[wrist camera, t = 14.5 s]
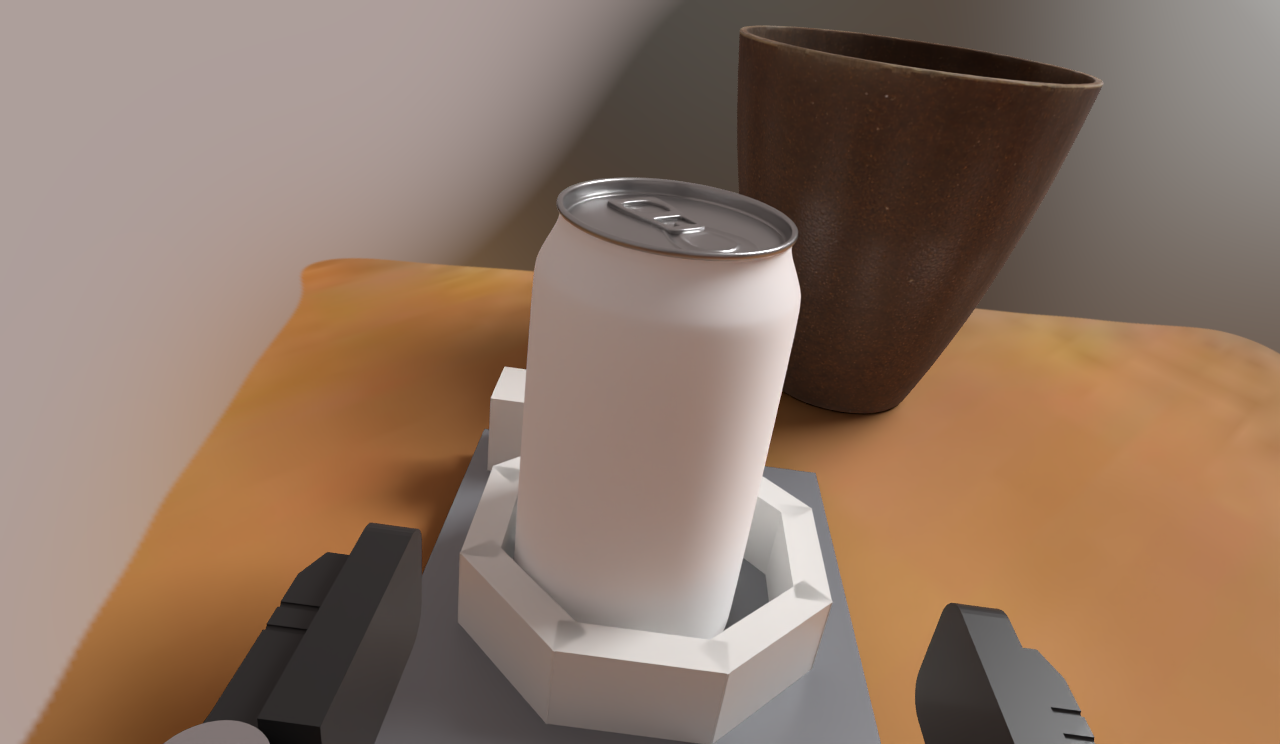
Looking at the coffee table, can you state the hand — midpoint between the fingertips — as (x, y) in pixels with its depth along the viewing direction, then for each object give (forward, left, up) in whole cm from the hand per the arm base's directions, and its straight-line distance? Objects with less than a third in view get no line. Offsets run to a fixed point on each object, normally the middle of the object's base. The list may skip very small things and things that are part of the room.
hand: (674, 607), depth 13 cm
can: (+1, -9, -9) cm, 13 cm away
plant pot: (-9, -29, -10) cm, 31 cm away
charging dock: (0, -10, -10) cm, 14 cm away
